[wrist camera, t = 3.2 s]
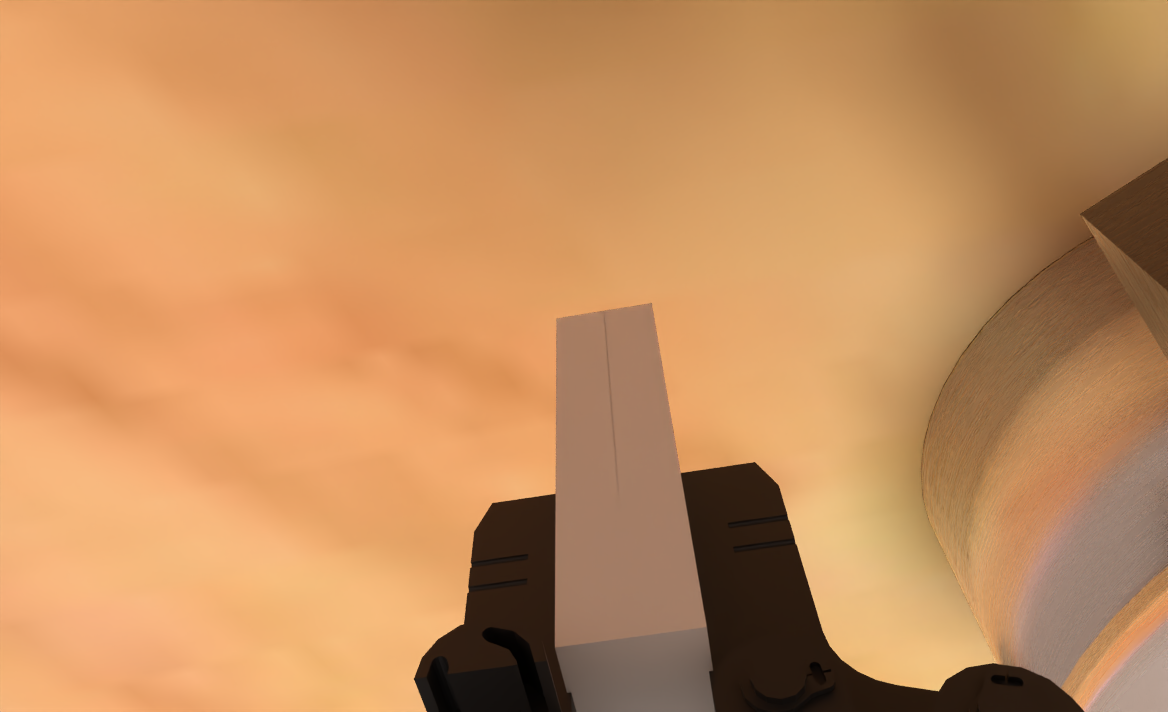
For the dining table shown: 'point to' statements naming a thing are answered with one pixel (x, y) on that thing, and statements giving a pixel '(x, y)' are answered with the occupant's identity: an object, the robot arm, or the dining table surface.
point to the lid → (1164, 300)
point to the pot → (1053, 464)
